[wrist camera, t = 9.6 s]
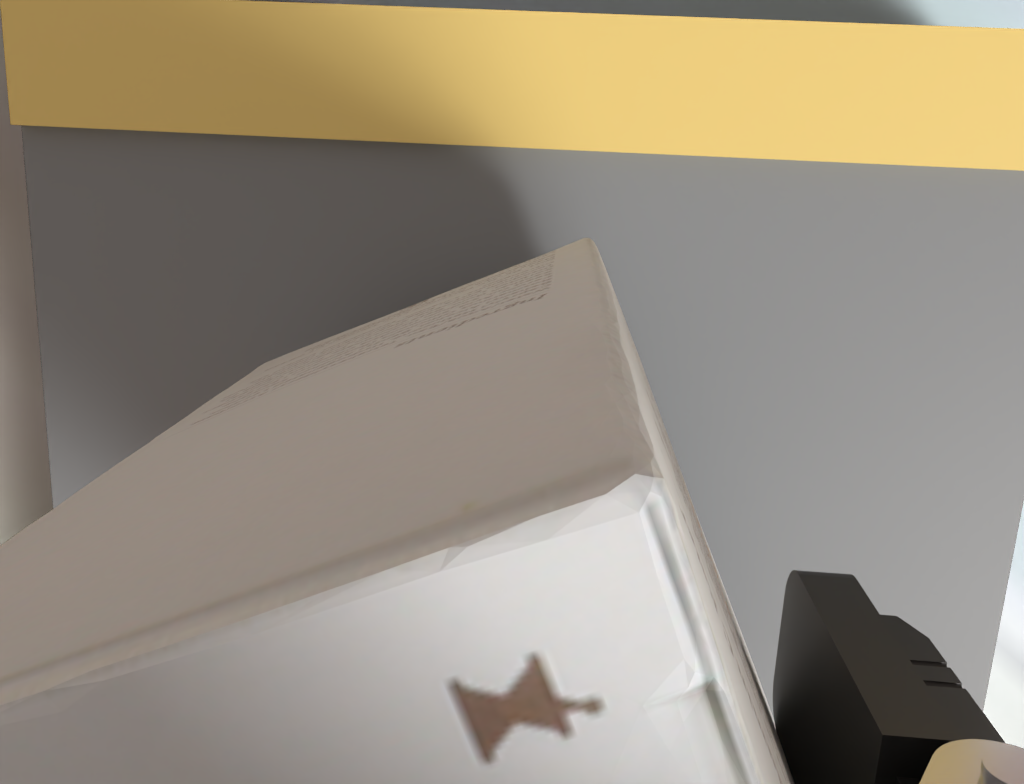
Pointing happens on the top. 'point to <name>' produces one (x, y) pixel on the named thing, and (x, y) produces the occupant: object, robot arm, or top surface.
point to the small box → (393, 572)
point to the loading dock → (556, 223)
